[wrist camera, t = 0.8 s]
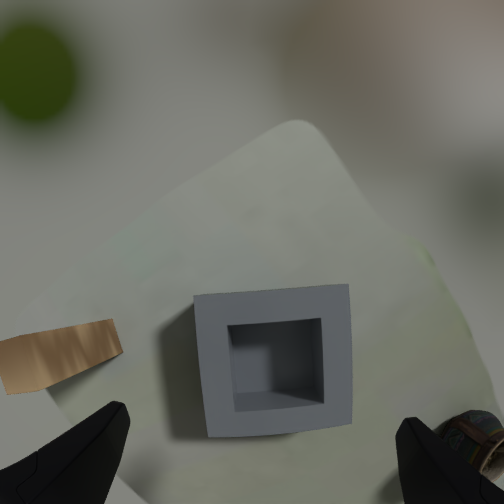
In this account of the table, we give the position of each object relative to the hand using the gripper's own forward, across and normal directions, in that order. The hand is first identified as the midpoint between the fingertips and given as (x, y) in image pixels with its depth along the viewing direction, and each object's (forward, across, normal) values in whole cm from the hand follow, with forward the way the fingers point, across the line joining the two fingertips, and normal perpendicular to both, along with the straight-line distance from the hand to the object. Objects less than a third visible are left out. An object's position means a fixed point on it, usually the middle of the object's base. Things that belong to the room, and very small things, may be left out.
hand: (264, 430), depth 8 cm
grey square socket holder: (+14, -1, +7) cm, 16 cm away
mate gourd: (+11, -21, +17) cm, 29 cm away
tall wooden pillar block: (+13, +14, +8) cm, 20 cm away
